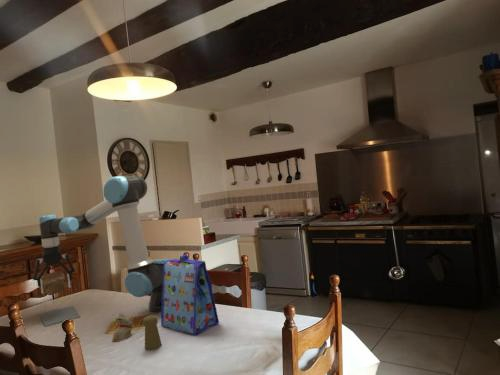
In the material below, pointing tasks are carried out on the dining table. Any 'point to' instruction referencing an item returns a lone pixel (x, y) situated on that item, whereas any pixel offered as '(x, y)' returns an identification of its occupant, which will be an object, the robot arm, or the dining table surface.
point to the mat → (59, 315)
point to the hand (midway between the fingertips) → (56, 290)
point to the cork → (151, 333)
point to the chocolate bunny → (122, 328)
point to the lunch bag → (187, 296)
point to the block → (54, 282)
